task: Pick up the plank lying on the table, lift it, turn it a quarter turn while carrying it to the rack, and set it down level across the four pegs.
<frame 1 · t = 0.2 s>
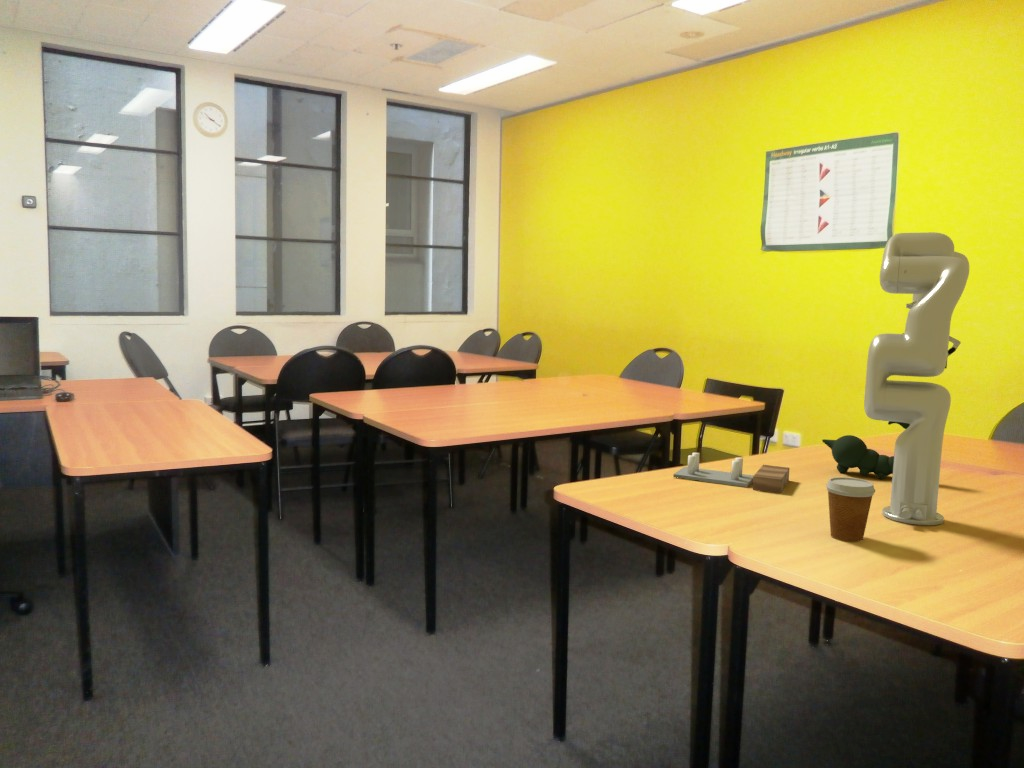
hand: (922, 369, 212), 31 cm above the table, tool pointing down, fingers open, 9 cm apart
peg rack: (714, 478, 212), on the table
shelf plank: (770, 486, 206), on the table
disposable coffee cup: (846, 538, 161), on the table
toy figurine: (867, 476, 219), on the table
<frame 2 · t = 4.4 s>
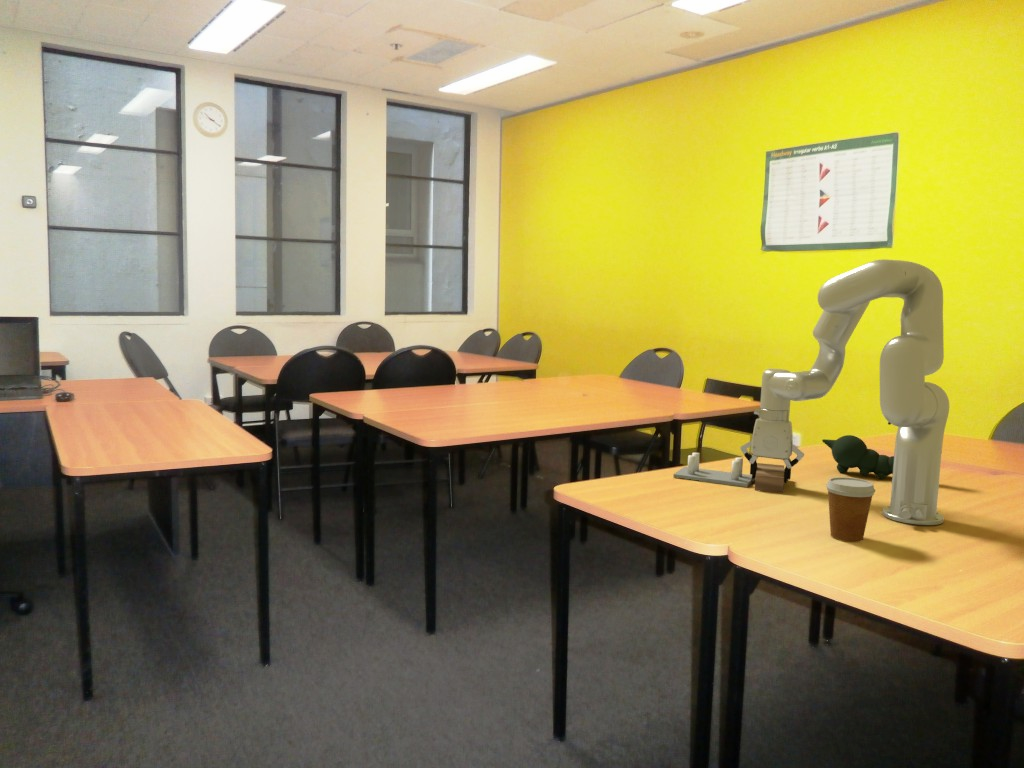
hand: (769, 479, 206), 1 cm above the table, tool pointing down, fingers closed on shelf plank, 7 cm apart
shelf plank: (769, 484, 206), on the table, touching gripper
everything else where it was.
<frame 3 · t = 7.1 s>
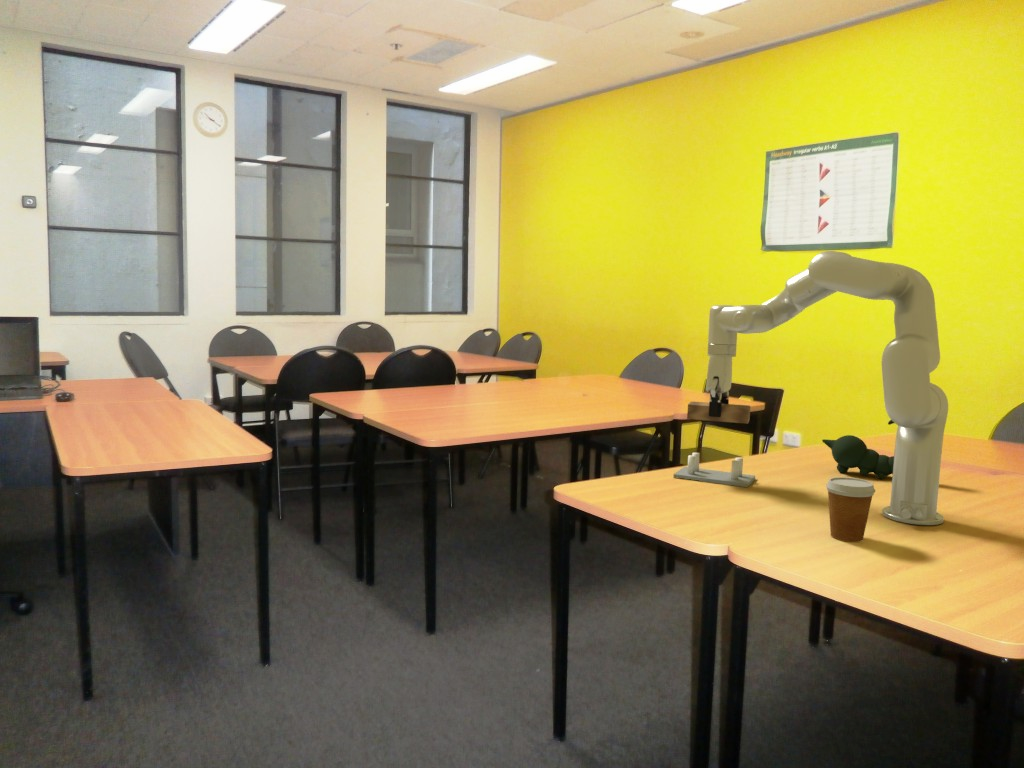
hand: (718, 414, 210), 18 cm above the table, tool pointing down, fingers closed on shelf plank, 7 cm apart
shelf plank: (718, 419, 210), point 17 cm above the table, touching gripper
everything else where it was.
when the fingers open (8 cm above the table, at t = 10.1 s): shelf plank drops 1 cm, resting on peg rack.
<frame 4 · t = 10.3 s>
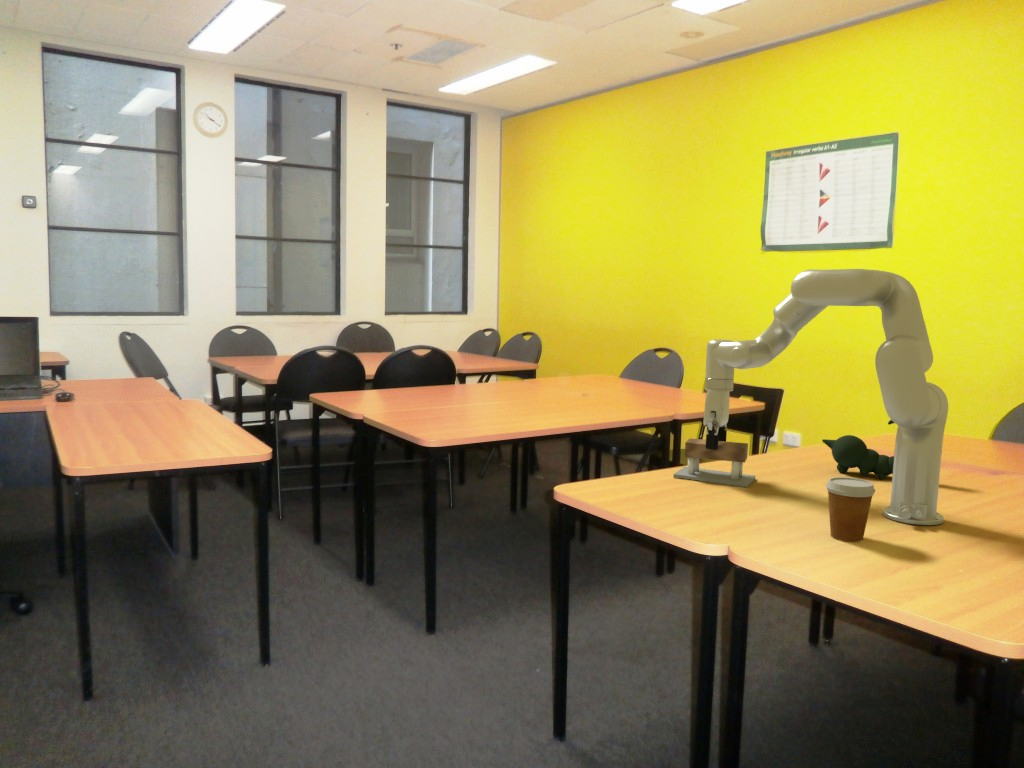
hand: (715, 446, 211), 9 cm above the table, tool pointing down, fingers open, 9 cm apart
shelf plank: (716, 457, 211), point 6 cm above the table, touching peg rack
everything else where it was.
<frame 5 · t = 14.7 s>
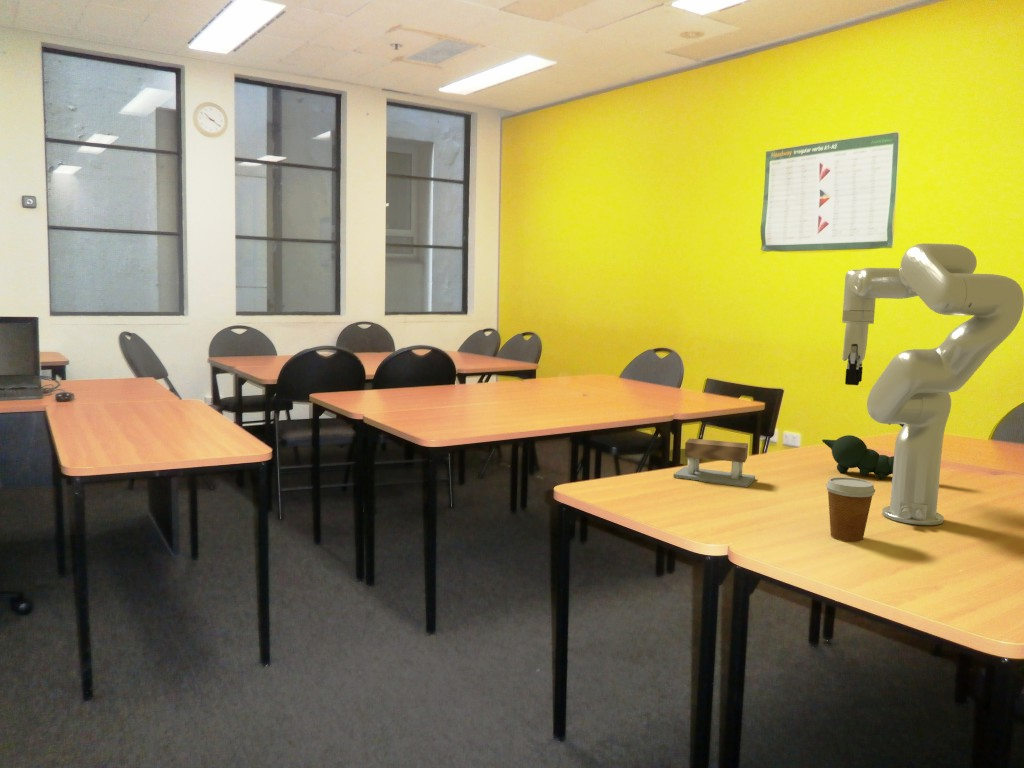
hand: (853, 383, 200), 28 cm above the table, tool pointing down, fingers open, 9 cm apart
nothing on the table moved.
at the end: shelf plank 0.2 cm off-centre on the peg rack, point 6.0 cm above the peg rack's base; shelf plank tilted 0°; shelf plank touching peg rack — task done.
